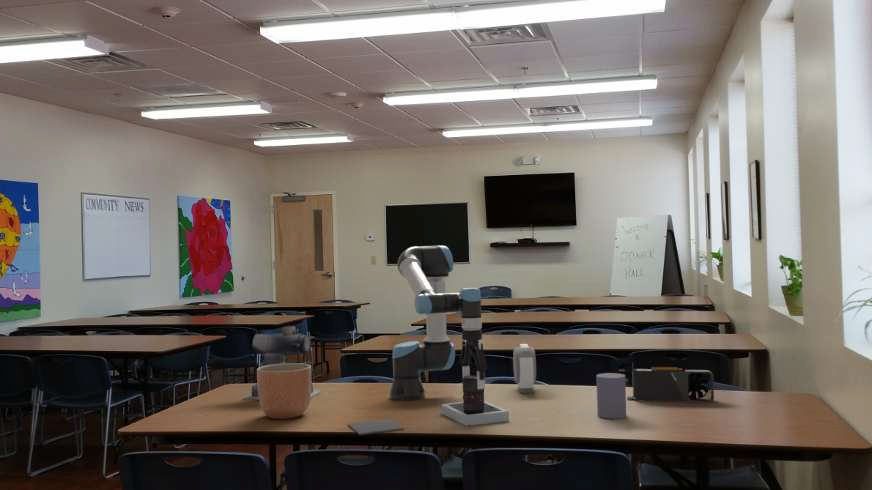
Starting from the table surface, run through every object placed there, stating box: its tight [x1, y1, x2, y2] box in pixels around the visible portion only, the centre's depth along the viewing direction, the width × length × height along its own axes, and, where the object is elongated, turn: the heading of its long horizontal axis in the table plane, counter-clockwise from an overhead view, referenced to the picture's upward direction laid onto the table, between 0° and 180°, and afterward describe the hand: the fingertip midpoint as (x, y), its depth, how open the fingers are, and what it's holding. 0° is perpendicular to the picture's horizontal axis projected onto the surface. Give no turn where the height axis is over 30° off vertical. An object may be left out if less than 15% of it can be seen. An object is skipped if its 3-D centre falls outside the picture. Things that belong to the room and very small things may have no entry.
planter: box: [256, 362, 312, 420], centre depth 291 cm, size 21×21×19 cm
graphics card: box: [626, 362, 715, 403], centre depth 299 cm, size 33×5×14 cm, turn 75°
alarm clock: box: [512, 343, 537, 394], centre depth 329 cm, size 18×8×20 cm, turn 179°
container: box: [596, 372, 627, 420], centre depth 275 cm, size 10×10×15 cm
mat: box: [347, 418, 404, 436], centre depth 268 cm, size 16×16×1 cm
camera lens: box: [462, 375, 485, 415], centre depth 280 cm, size 8×8×15 cm
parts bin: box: [440, 400, 510, 427], centre depth 280 cm, size 23×17×4 cm
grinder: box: [241, 325, 323, 401], centre depth 334 cm, size 18×31×31 cm, turn 79°
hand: (473, 386), depth 280 cm, fingers open, 13 cm apart
